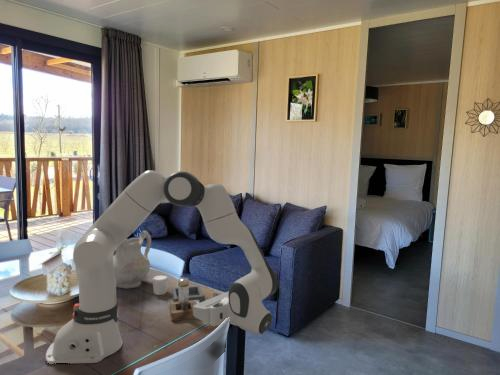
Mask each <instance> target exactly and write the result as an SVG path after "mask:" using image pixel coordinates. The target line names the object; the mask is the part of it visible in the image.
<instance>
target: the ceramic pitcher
mask: <svg viewBox="0 0 500 375" xmlns="http://www.w3.org/2000/svg"><path fill="white" fill-rule="evenodd" d="M144 240H146V246H145V249H144V253H142V246H143V244H144ZM151 246H152V237H151V235H150V233H149V231H148V230H147V229H145V230H141V234H140V236H139V237H132V238H126V239H125V240H124V241H123V242H122V243H121V245H120V246H119V247H118V248H117V249H116V250H115V253H114V256H113V263H114V272H115V278H116V288H120V289H126V290H127V289H134V288H138V287H139V286H141V285H142V283H143V282H142V280H144V278H145V277H146V276H147V275H148V274H149V272H150V267H151V265H150V264H151V261H150V260H149V258H148V256H149V255H148V254H149V252H150V250H151Z"/></svg>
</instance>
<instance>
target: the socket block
mask: <svg viewBox="0 0 500 375" xmlns="http://www.w3.org/2000/svg"><path fill="white" fill-rule="evenodd" d="M193 301H194V300H190V301H189V309H186V310H178V302H173V301H172V302H169V313H170V318H171V319H170V320H171V322H173V321H183V320H191V319H192V320H193V319H197V318H196V317H194V315H193V306H194V304H193Z"/></svg>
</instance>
